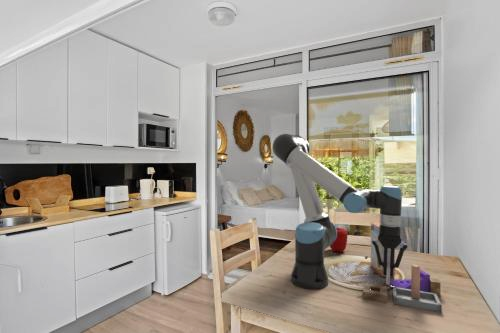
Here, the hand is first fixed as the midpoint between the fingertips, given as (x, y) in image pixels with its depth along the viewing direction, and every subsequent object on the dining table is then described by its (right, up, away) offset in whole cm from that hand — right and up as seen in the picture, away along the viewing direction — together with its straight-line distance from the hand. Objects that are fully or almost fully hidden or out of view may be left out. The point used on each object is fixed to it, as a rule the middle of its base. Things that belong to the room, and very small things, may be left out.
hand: (387, 283), depth 113 cm
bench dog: (+15, -1, -6) cm, 16 cm away
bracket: (+7, -1, -3) cm, 8 cm away
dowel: (+3, 0, -13) cm, 14 cm away
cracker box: (+5, -1, +15) cm, 16 cm away
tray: (+3, -1, -13) cm, 13 cm away
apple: (-6, -1, +44) cm, 45 cm away
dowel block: (-9, -1, -8) cm, 12 cm away
